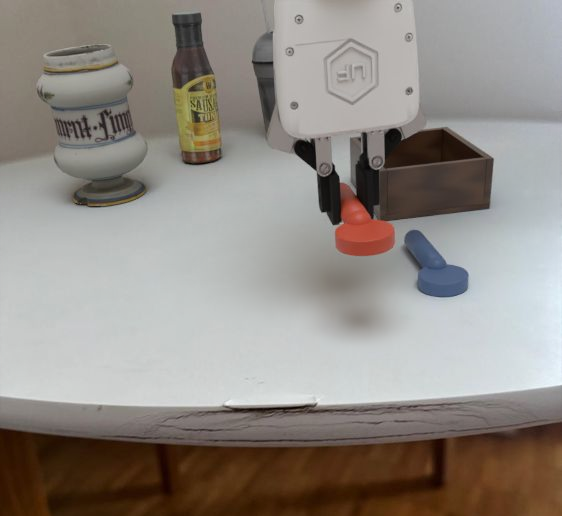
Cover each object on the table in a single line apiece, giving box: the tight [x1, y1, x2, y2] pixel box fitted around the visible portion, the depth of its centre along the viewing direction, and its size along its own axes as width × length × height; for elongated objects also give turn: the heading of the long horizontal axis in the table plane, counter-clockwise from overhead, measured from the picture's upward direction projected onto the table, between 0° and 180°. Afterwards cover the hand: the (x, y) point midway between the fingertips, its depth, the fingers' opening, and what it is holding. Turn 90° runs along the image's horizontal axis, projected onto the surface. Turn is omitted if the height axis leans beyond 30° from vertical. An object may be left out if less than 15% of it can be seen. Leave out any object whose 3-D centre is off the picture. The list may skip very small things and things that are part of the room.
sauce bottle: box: [170, 11, 222, 164], centre depth 100 cm, size 7×6×20 cm
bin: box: [349, 126, 495, 222], centre depth 83 cm, size 13×16×6 cm
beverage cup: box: [251, 0, 276, 134], centre depth 108 cm, size 7×7×20 cm
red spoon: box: [334, 182, 396, 257], centre depth 55 cm, size 12×4×2 cm, turn 7°
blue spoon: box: [403, 229, 470, 298], centre depth 65 cm, size 12×4×2 cm, turn 7°
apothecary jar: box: [36, 43, 149, 207], centre depth 89 cm, size 12×12×18 cm
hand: (349, 215), depth 56 cm, fingers closed on red spoon, 2 cm apart
